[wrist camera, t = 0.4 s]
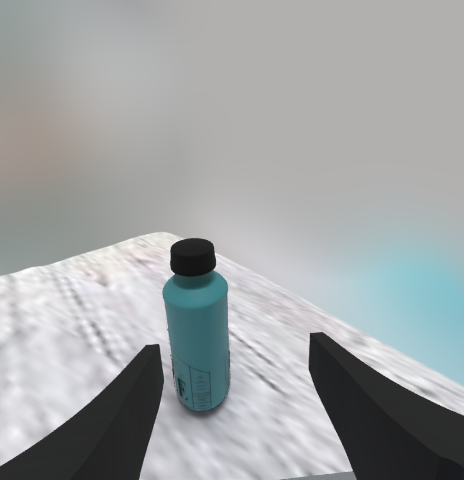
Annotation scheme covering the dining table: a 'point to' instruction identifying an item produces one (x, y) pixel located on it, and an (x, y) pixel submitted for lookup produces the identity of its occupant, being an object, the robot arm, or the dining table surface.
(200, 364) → the beverage bottle
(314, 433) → the dining table surface
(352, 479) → the box
